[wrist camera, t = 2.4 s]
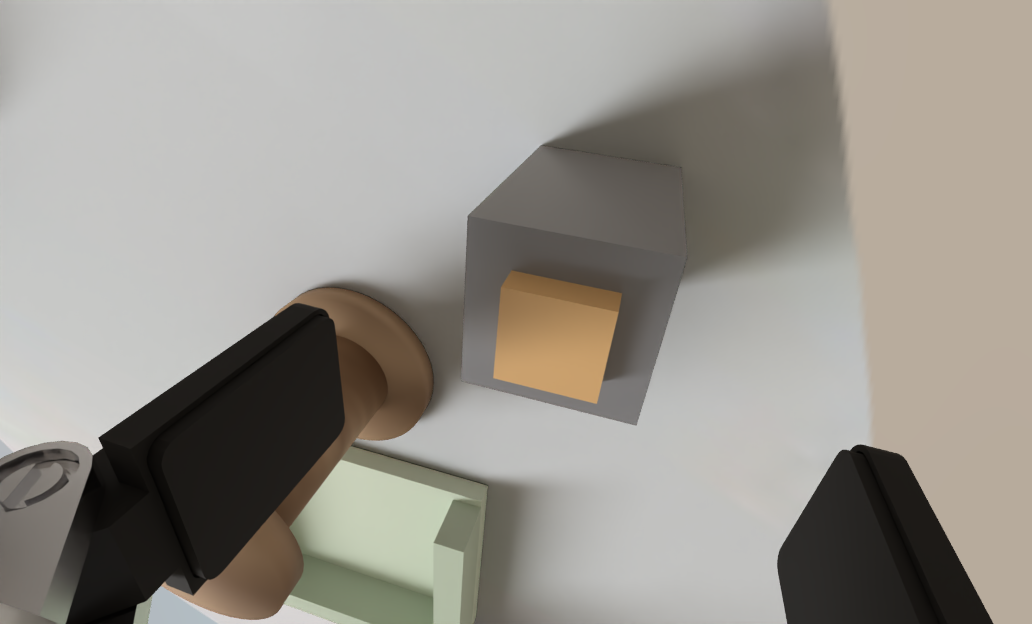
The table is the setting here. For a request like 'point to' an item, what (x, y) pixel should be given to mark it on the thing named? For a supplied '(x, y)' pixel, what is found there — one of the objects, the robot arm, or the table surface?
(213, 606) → the tan door knob
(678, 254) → the gray rectangular block
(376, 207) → the table surface
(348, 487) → the board with raised rails
